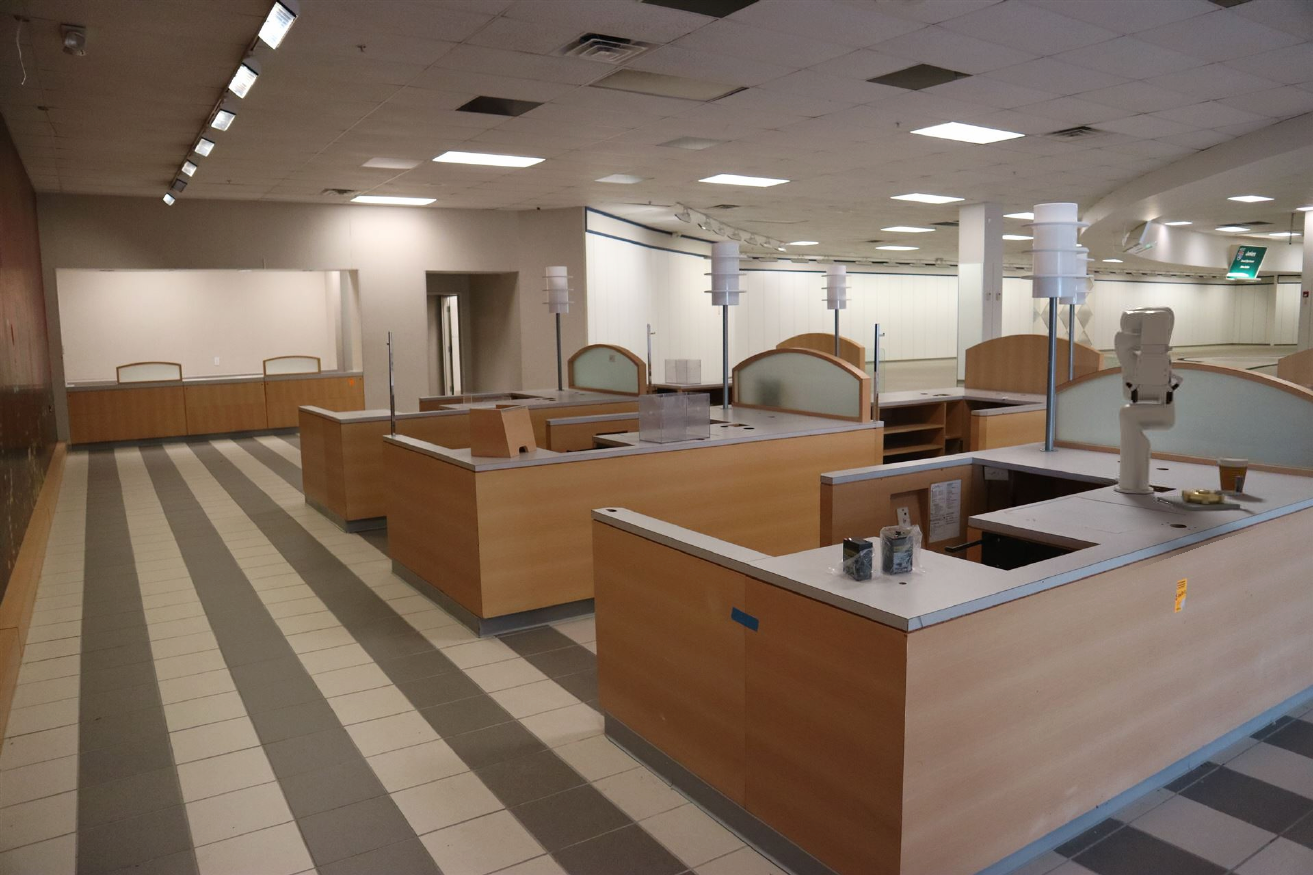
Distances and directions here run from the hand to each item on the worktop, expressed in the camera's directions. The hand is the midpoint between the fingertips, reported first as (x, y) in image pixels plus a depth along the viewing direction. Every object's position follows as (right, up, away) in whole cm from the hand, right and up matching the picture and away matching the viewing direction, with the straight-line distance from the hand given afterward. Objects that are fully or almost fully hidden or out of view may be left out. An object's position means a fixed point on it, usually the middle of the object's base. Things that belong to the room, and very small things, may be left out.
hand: (1151, 403), depth 288 cm
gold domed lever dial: (+24, -32, +8) cm, 41 cm away
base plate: (+21, -33, +10) cm, 40 cm away
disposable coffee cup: (+43, -31, +27) cm, 59 cm away
